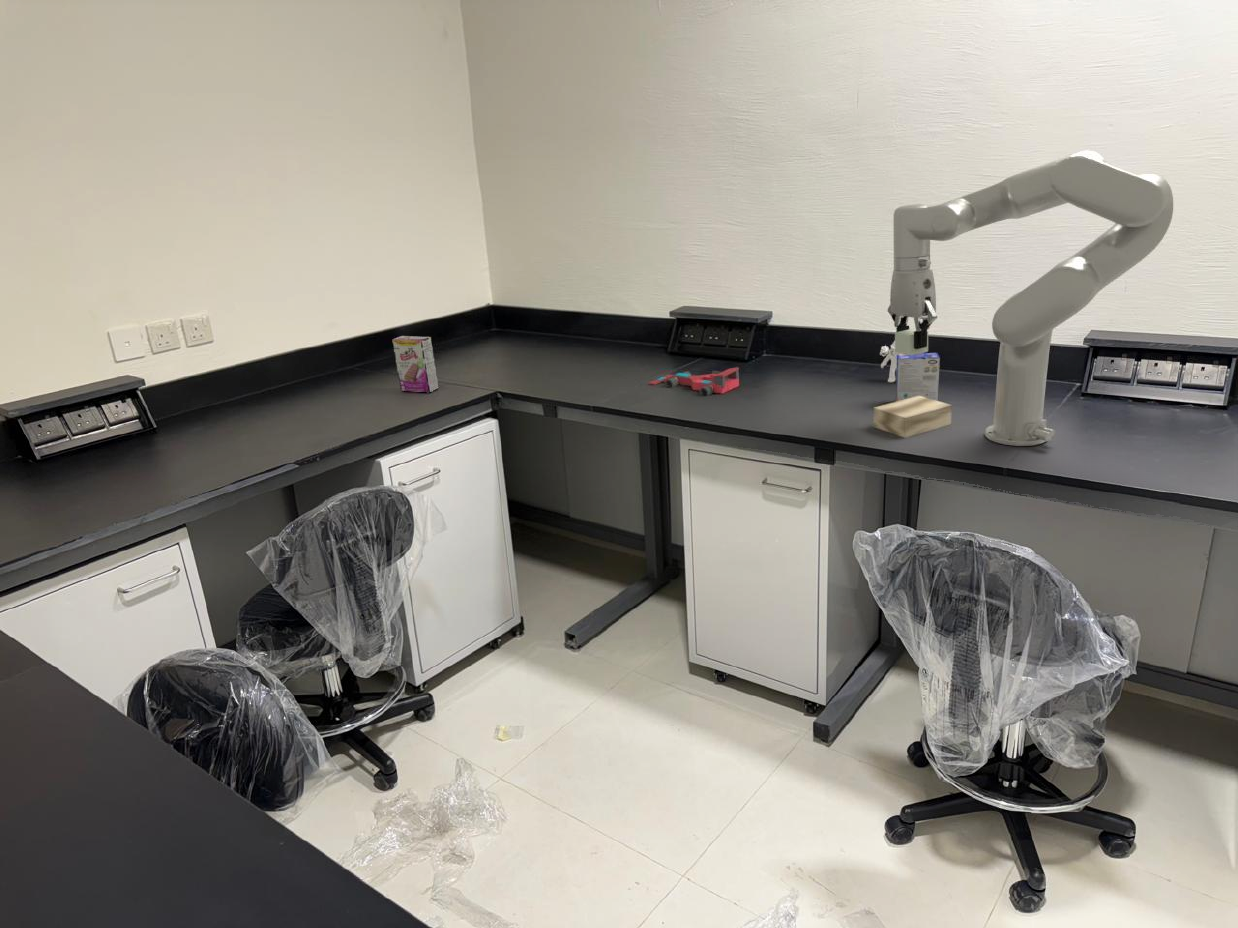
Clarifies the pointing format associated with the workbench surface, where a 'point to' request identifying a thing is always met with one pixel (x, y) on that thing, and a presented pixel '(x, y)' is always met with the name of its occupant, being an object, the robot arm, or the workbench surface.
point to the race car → (704, 381)
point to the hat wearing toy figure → (893, 357)
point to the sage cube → (907, 343)
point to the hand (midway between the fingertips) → (911, 345)
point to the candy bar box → (415, 363)
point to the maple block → (912, 416)
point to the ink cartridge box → (917, 376)
